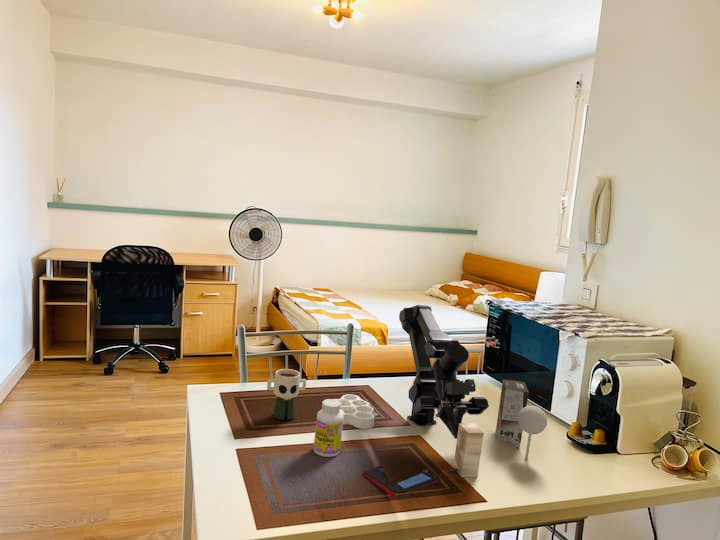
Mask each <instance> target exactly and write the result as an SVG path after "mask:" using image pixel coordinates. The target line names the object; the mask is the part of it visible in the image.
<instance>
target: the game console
mask: <svg viewBox="0 0 720 540" xmlns="http://www.w3.org/2000/svg"><path fill="white" fill-rule="evenodd" d="M362 474H363V475H364V476H365V477H366V478H367V479H368V480H370V481H371V482H372V483H374V484H375V485H376V486H378V488H380V489H382V490H383V491H384V492H386V493H387V494H388V495H390V496H391V497H392V498H394V499H398V497H397V495H396V494H397V493H398V494H406V493H409V492H411V491H415V490H417V489H420V488H423V487H426V486H429V485H431V484H434V483H437V482H439V481H441V477H440V475H439V474H438V473H436V472H434V471H433V470H430V469H429V470H428V469H422V472H421V473H419V474H417V475H414V476H411V477H409V478H407V479H404V480H402V481H400V482H398V483H397V484H395V485H394V481H389V479H388V477H387V475H386V472H385V471H384V468H383V465H380V466H376V467H373V468H369V469H366V470H363V471H362Z"/></svg>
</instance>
